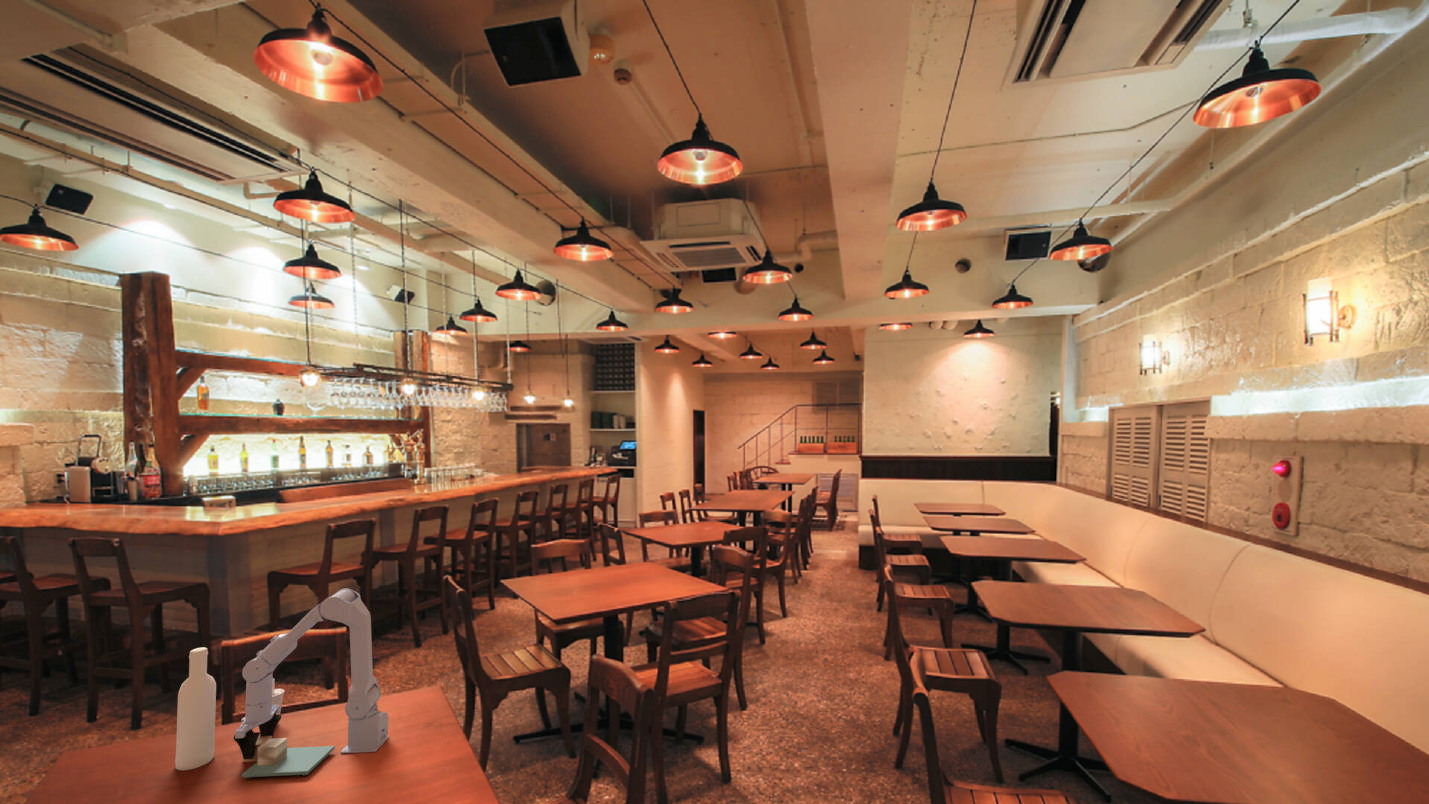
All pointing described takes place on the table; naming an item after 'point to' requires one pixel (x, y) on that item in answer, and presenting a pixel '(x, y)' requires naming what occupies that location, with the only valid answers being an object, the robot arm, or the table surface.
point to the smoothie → (277, 696)
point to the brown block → (259, 742)
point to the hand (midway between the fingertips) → (257, 751)
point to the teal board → (292, 762)
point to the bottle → (196, 715)
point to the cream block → (272, 751)
